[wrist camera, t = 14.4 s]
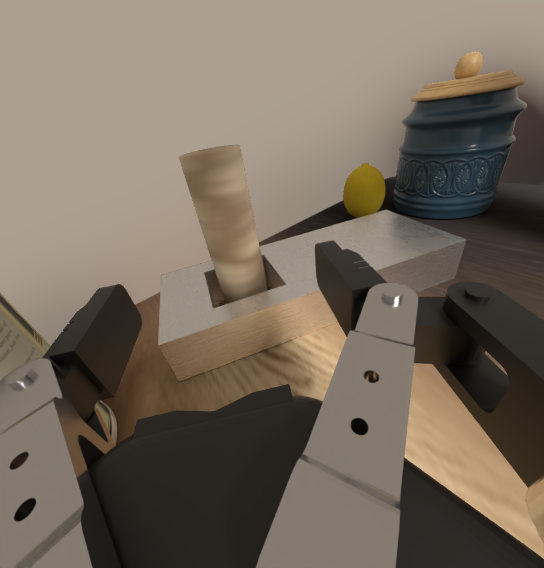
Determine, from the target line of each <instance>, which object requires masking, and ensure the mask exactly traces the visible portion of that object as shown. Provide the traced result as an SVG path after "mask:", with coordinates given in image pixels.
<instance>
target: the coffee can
mask: <svg viewBox="0 0 544 568" xmlns="http://www.w3.org/2000/svg"><path fill="white" fill-rule="evenodd" d="M50 347H51V346H50V345H49V344H48V343H47V342H46V341H45V340H44V339H43V338H42V337H41V335H40V334H39V333H38V332H37V331H36V330H35V329H34V328H33V327H32V326H31V325H30V324H29V323H28V322H27V321H26V320H25V319H24V318H23V317H22V315H21V314H20V313H19V312H18V311H17V310H16V309H15V308H14V307H13V306H12V305H11V304H10V303H9V302H8V301H7V300H6V298H5V297H4V296H3V295H2V294H1V293H0V380H1V379H2V378H3V377H5V376H6V375H7V374H8V373H10V372H11V371H13V370H14V369H16V368H17V367H19V366H21V365H23V364H25V363H27V362H30V361H33V360H36V359H42V357H43V356H44V355H45V353H46V352H47V351H48V349H49V348H50ZM95 407H96V408H97V409H98V410H99V412H100V414H101V416H102V418H103V420H104V422H105V424H106V427H107V429H108V431H109V433H110V435H111V437H112V439H113V441H114V443H115V446H116V440H117V422H116V418H115V415H114V413H113V411H112V410H111V408H110V407H109V406H108V405H107V404H105V403H104V402H102V401H101V400H98V401H97V403H96V405H95Z"/></svg>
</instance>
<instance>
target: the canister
mask: <svg viewBox="0 0 544 568" xmlns="http://www.w3.org/2000/svg"><path fill="white" fill-rule="evenodd" d="M482 63H483V57H482V55H481V54H480V53H479V52H470V53H468V54H465V55H464V56H463V57H462V58H461V59H460V60H459V61H458V63H457V65H456V67H455V72H454V75H455V78H456V79H455V80H450V81H444V82H439V83H433V84H428V85H425V86H424V88H423V89H422V90H421V91H420V92H419V93H417V94H416V95H415V96H413V97H412V98H411V101H412V102H415V104H414V107H413V109H412V111H411V113H410V114H408V115H407V116H406V117H404V118H403V119H402V121H401V122H402V124H403V126H404V127H405V132H404V138H403V142H402V144H401V145H400V146H399V147H398V150H399V158H398V166H397V175H396V183H395V187H394V190H393V200H394V207H395V208H396V209H397V210H398V211H400V212H402V213H405V214H408V215H412V216H416V217H422V218H432V219H455V218H464V217H470V216H474V215H478V214H480V213H483V212H485V211H486V210H488V209H489V207H490V205H491V203H492V202H493V201H494V199H495V197H496V193H497V192H498V184H499V181H500V178H501V174H502V172H503V169H504V166H505V163H506V160H507V157H508V154H509V151H510V148H511V145H512V143H514V142H515V136H513V129H514V125H515V121H516V118H517V116H518V115H519V114H520V113H521V112H522V111H523V110H525V108H526V107H527V105H526V103H525V102H523V101H521V100H520V99H519V98H518V95H517V86H520V85H523V84H524V83H525V80H524V79H522V78H520V77H518V76H517V75H515V74H514V73H513V71H512V70H507V71H501V72H495V73H490V74H484V75H478V76H476V75H477V74H478V73H479V71H480V69H481V67H482Z"/></svg>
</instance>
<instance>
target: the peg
mask: <svg viewBox="0 0 544 568" xmlns="http://www.w3.org/2000/svg"><path fill="white" fill-rule="evenodd" d="M179 160H180V163H181V166H182V169H183V172H184V175H185V179H186V181H187V184H188V188H189V191H190V194H191V197H192V200H193V203H194V206H195V209H196V213H197V216H198V219H199V222H200V225H201V228H202V231H203V234H204V237H205V240H206V244H207V246H208V250H209V253H210V256H211V259H212V262H213V265H214V269H215V272H216V275H217V278H218V281H219V284H220V287H221V290H222V293H223V296H224V300H225V303H226V304H229V303H232V302H235V301H238V300H241V299H244V298H247V297H250V296H253V295H256V294H259V293H262V292H265V291H268V287H267V282H266V277H265V272H264V267H263V262H262V257H261V251H260V246H259V241H258V236H257V231H256V226H255V221H254V216H253V211H252V205H251V200H250V195H249V190H248V185H247V180H246V175H245V169H244V164H243V159H242V154H241V149H240V145H228V146H221V147H215V148H209V149H204V150H199V151H195V152H191V153H188V154H184V155H182V156H180V157H179Z"/></svg>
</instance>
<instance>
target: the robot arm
mask: <svg viewBox="0 0 544 568" xmlns="http://www.w3.org/2000/svg"><path fill="white" fill-rule="evenodd" d="M315 265H316V278H317V283H318V286H319V289H320V291H321V292H322V294H323V296H324V298H325V300H326V301H327V303H328V305H329V307H330V308H331V310H332V312H333V314H334V315H335V317H336V319H337V321H338V322H339V324H340V326H341V328H342V329H343V331H344V333H345V335H346V337H347V339H346V341H345V344H344V347H343V349H342V352H341V355H340V358H339V360H338V363H337V366H336V368H335V371H334V374H333V376H332V379H331V382H330V384H329V387H328V390H327V392H326V395H325V398H324V401H320V400H317V399H314V398H310V397H304V396H293V395H292V394H291V390H290V386H289V384H287V385H283V386H279V387H275V388H270V389H266V390H262V391H258V392H253V393H251V394H249V395H247V396H245V397H243V398H241V399H239V400H237V401H235V402H233V403H231V404H229V405H227V406H225V407H223V408H221V409H219V410H216V411H211V412H205V411H173V412H169V413H165V414H160V415H156V416H152V417H148V418H143V419H139V420H137V424H136V427H135V431H134V434H133V435H132V436H130V437H128V438H127V439H125V440H123V441H122V442H120V443H119V444H117V445H116V446H115V443H114V441H113V439H112V437H111V435H110V433H109V431H108V429H107V427H106V424H105V422H104V420H103V418H102V416H101V414H100V412H99V410H98V409H97V408H96V407H95V405H96V403H97V401H98V400H103V399H107V398H111V397H114V395H115V393H116V390H117V388H118V385H119V383H120V380H121V378H122V375H123V373H124V370H125V368H126V365H127V362H128V360H129V357H130V355H131V352H132V350H133V347H134V345H135V342H136V340H137V337H138V335H139V332H140V329H141V326H142V320H141V316H140V313H139V312H138V310H137V308H136V306H135V305H134V303H133V301H132V299H131V298H130V296H129V295H128V293H127V291H126V289H125V288H124V287H123V286H122V285H120V284H118V285H113V286H109V287H103V288H99V289H98V290H97V291H96V293H95V294H94V295H93V296H92V298H91V299H90V301H89V302H88V303H87V304H86V305H85V306H84V307H83V308H82V309H80V310H79V311H78V312H77V313H76V314H75V315H74V317H73V318H72V319H71V320H70V322H69V323H70V324H67V326H66V327H65V328H64V330H63V332H61V334H60V335H59V336H58V338H57V339H56V340H55V342H54V343H53V344H52V345H51V347H50V348H49V349H48V351H47V352H46V353H45V355H44V356H43V357H42V359H36V360H33V361H30V362H27V363H25V364H23V365H21V366H19V367H17V368H16V369H14V370H13V371H11V372H10V373H8V374H7V375H6V376H5V377H3V378H2V379H1V380H0V568H544V559H543V558H542V557H540V556H539V555H538V554H536V553H535V552H534V551H532V550H531V549H530V548H528V547H527V546H526V545H524V544H523V543H521V542H520V541H519V540H517V539H516V538H515V537H513V536H512V535H510V534H509V533H508V532H506V531H505V530H503V529H502V528H501V527H499V526H498V525H497V524H495V523H494V522H492V521H491V520H490V519H488V518H487V517H486V516H484V515H483V514H481V513H480V512H479V511H477V510H476V509H475V508H473V507H472V506H470V505H469V504H468V503H466V502H465V501H464V500H462V499H461V498H459V497H458V496H457V495H455V494H454V493H452V492H451V491H450V490H448V489H447V488H446V487H444V486H443V485H441V484H440V483H439V482H437V481H436V480H435V479H433V478H432V477H430V476H429V475H428V474H426V473H425V472H424V471H422V470H421V469H419V468H418V467H417V466H415V465H414V464H413V463H411V462H410V461H408V460H407V459H406V458H404V454H405V444H406V434H407V425H408V415H409V405H410V395H411V386H412V376H413V366H414V363H424V364H433V365H434V366H435V368H436V369H437V370H438V371H439V373H440V374H441V375H442V377H443V378H444V379H445V380H446V382H447V383H448V384H449V386H450V387H451V388H452V390H453V391H454V392H455V393H456V395H457V396H458V397H459V399H460V400H461V401H462V403H463V404H464V405H465V406H466V408H467V409H468V410H469V412H470V413H471V414H472V416H473V417H474V418H475V419H476V421H477V422H478V423H479V425H480V426H481V427H482V429H483V430H484V431H485V432H486V434H487V435H488V436H489V438H490V439H491V440H492V441H493V443H494V444H495V445H496V447H497V448H498V449H499V451H500V452H501V453H502V454H503V456H504V457H505V458H506V460H507V461H508V462H509V464H510V465H511V466H512V467H513V469H514V470H515V471H516V473H517V474H518V475H519V477H520V478H521V479H522V480H523V482H524V483H525V484H526V486H527V487H528V490H527V493H526V506H527V509H528V512H529V515H530V517H531V519H532V521H533V523H534V525H535V527H536V530H537V533H538V535H539V537H540V538H541V540H542V541H543V543H544V321H543V320H542V319H540V318H539V317H537V316H536V315H534V314H533V313H531V312H530V311H528V310H527V309H526V308H524V307H523V306H521V305H520V304H518V303H517V302H515V301H514V300H512V299H511V298H509V297H508V296H506V295H505V294H503V293H502V292H500V291H499V290H497V289H495V288H493V287H491V286H488V285H485V284H481V283H475V282H459V283H455V284H453V285H451V286H450V287H449V288H448V290H447V293H446V297H418V296H417V294H416V293H415V292H414V291H413V290H412V289H410V288H408V287H406V286H404V285H400V284H396V283H387V282H386V281H385V280H384V279H383V278H382V277H381V276H380V275H379V274H378V273H377V272H376V271H375V270H374V269H373V268H372V267H371V266H370V265H369V264H368V263H367V262H366V261H365V260H364V259H363V258H362V257H361V256H360V255H359V254H358V253H356V252H354V251H352V250H349V249H344V250H342V249H341V248H340V247H339V245H338V244H337V243H336V242H335V241H334V240H331V241H326V242H321V243H317V244H315ZM486 351H487V352H488V353H489V354H490V355H491V356H492V357H493V358H494V359H495V360H496V361H497V362H498V363H500V364H501V366H502V367H503V368H504V369H505V371H506V372H507V374H508V376H507V375H506V374H505V373H504V372H503V371H502V370H501V369H500V368H499V367H498V366H497V365H496V364H495V363H494V362H492V361H491V360H490V359H489V358H488V357H487V356H486V355H485V352H486Z"/></svg>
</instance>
